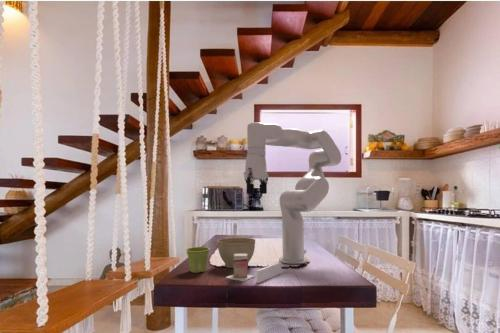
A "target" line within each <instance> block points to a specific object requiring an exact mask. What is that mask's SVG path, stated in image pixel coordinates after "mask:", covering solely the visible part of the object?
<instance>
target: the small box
mask: <svg viewBox="0 0 500 333" xmlns="http://www.w3.org/2000/svg"><path fill="white" fill-rule="evenodd" d="M248 273H249V272H248V266H247V254H234V268H233V274H234V278H247V275H249V274H248Z"/></svg>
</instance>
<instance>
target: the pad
mask: <svg viewBox="0 0 500 333" xmlns="http://www.w3.org/2000/svg"><path fill="white" fill-rule="evenodd" d="M253 278H256V277H255V275H251V274H248V275H247V278H234V273H233V274H231V275H228V276H226V277H225V279H226V280H234V281H238V280H239V281H238V282H243V281H244V282H247V281H248V280H250V279H251V280H252V279H253Z"/></svg>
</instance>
